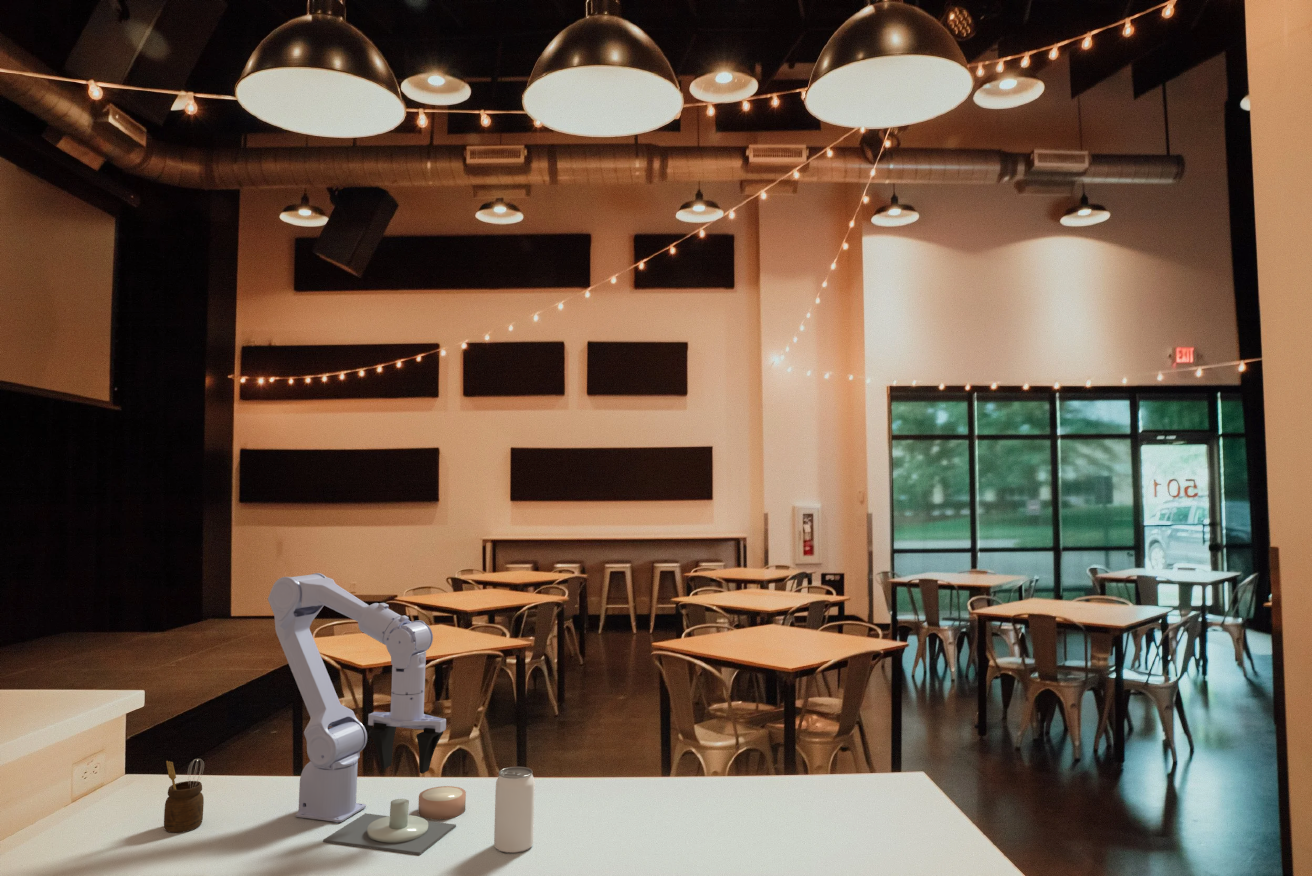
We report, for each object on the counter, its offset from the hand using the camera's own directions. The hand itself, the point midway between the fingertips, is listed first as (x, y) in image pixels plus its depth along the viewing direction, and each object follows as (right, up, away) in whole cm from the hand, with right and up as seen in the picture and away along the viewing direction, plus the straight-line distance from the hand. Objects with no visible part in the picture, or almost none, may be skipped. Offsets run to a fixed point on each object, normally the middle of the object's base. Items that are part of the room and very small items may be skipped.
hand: (405, 769), depth 148 cm
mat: (-1, -9, -5) cm, 10 cm away
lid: (0, -9, -5) cm, 10 cm away
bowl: (+5, -10, +6) cm, 12 cm away
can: (+21, -9, -9) cm, 25 cm away
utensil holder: (-38, -9, -3) cm, 39 cm away
